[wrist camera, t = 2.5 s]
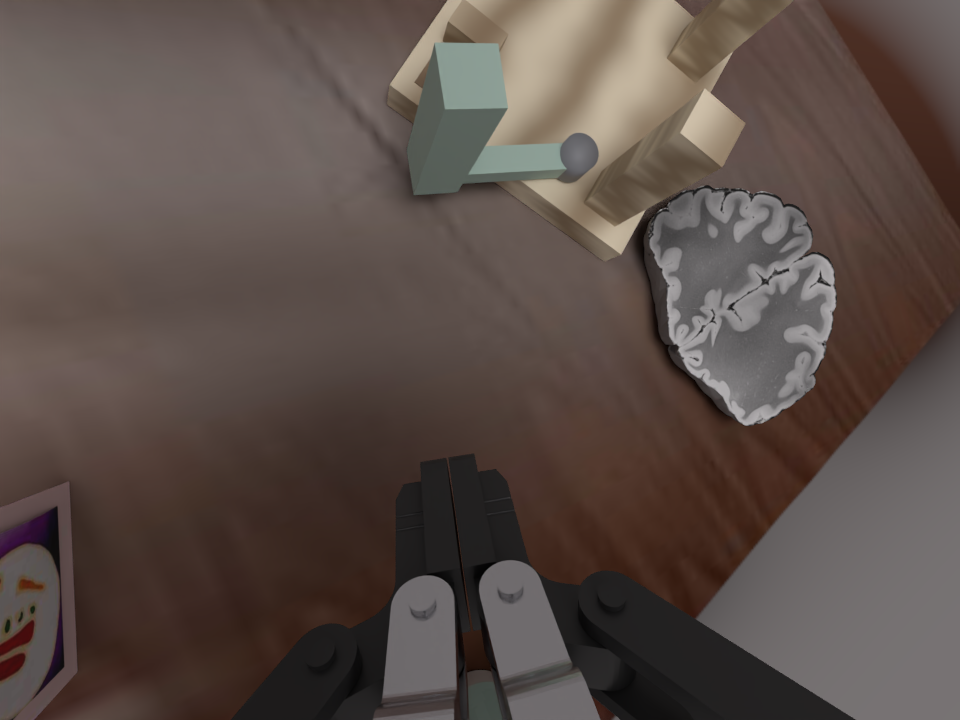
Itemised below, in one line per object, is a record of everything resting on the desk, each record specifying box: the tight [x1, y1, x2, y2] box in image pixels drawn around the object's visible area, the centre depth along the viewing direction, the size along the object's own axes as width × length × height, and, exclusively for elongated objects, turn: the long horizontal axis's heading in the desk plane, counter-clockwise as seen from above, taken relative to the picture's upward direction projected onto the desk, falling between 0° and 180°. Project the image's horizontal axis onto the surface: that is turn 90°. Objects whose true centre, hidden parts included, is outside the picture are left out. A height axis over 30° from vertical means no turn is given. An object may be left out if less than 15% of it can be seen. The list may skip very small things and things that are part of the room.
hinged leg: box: [407, 42, 599, 195], centre depth 29 cm, size 13×3×11 cm, turn 99°
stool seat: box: [387, 0, 794, 262], centre depth 32 cm, size 20×20×14 cm
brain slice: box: [644, 185, 837, 426], centre depth 41 cm, size 20×17×3 cm
